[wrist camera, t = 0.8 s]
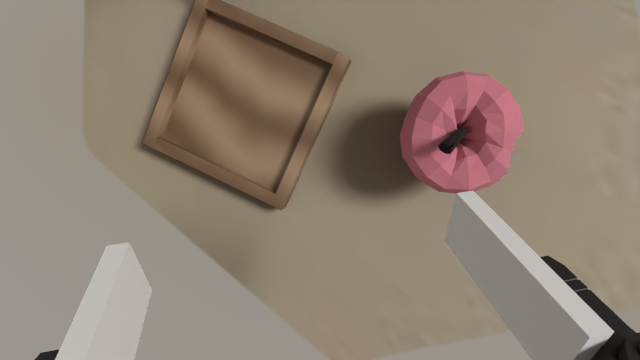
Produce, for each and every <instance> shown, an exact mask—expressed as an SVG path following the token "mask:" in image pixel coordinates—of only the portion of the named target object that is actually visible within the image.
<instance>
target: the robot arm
mask: <svg viewBox="0 0 640 360" xmlns="http://www.w3.org/2000/svg"><path fill="white" fill-rule="evenodd" d="M445 241H446V242H447V244H448V245H449V246H450V248H451V249H452V250H453V252H454V253H455V255H456V256H457V257H458V259H459V260H460V261H461V263H462V264H463V266H464V267H465V268H466V270H467V271H468V272H469V274H470V275H471V277H472V278H473V279H474V281H475V282H476V283H477V285H478V286H479V288H480V289H481V290H482V292H483V293H484V294H485V296H486V297H487V299H488V300H489V301H490V303H491V304H492V305H493V307H494V308H495V310H496V311H497V312H498V314H499V315H500V316H501V318H502V319H503V321H504V322H505V323H506V325H507V326H508V327H509V329H510V330H511V332H512V333H513V334H514V336H515V337H516V338H517V340H518V341H519V343H520V344H521V345H522V346H523V348H524V349H525V350H526V352H527V353H528V355H529V356H530V358H531V359H532V360H640V333H636V332H635V331H633V330H632V329H631V328H630V327H629V326H628V325H626V324H625V323H624V322H623V321H622V320H621V319H620V318H619V317H618V316H617V315H616V314H615V313H614V312H613V311H612V310H611V309H610V308H609V307H608V306H606V305H605V304H604V303H603V302H602V301H601V300H600V299H599V298H598V297H597V296H596V295H595V294H594V293H593V292H592V291H591V290H588V289H587V287H586V286H585V285H584V284H583V283H582V282H581V281H580V280H577V277H576V276H575V275H574V274H573V273H572V272H571V271H570V270H569V269H567V268H566V267H565V266H564V265H563V264H561V263H559V262H558V261H556V260H554V259H553V258H551V257H549V256H544V257H539V256H538V255H537V254H536V253H535V252H534V251H533V250H532V249H531V248H530V247H529V246H528V245H527V244H526V243H525V242H524V241H523V240H522V239H521V238H520V237H519V236H518V235H517V234H516V233H515V232H514V231H513V230H512V229H511V228H510V227H509V226H508V225H507V224H506V223H505V222H504V221H503V220H502V219H501V218H500V217H499V216H498V215H497V214H496V213H495V212H494V211H493V210H492V209H491V208H490V207H489V206H488V205H487V204H486V203H485V202H484V201H483V200H482V199H481V198H480V197H479V196H478V195H477V194H476V193H475V192H474V191H467V192H461V193H457V194H456V198H455V202H454V206H453V210H452V214H451V218H450V222H449V226H448V230H447V234H446V238H445ZM151 293H152V289H151V287H150V285H149V283H148V281H147V279H146V277H145V275H144V273H143V271H142V268H141V266H140V264H139V262H138V260H137V258H136V256H135V254H134V252H133V250H132V247H131V245H130V243H129V242H128V243H122V244H116V245H108V246H106V248H105V251H104V253H103V255H102V257H101V259H100V262H99V264H98V266H97V268H96V270H95V273H94V275H93V277H92V279H91V281H90V284H89V286H88V288H87V290H86V293H85V295H84V297H83V299H82V301H81V303H80V306H79V308H78V310H77V312H76V315H75V317H74V319H73V321H72V323H71V325H70V328H69V330H68V332H67V334H66V336H65V339H64V341H63V343H62V345H61V347H60V349H59V350H54V351H49V352H43V353H40V354H39V356H38V357H37V358H36V359H35V360H134V359H135V355H136V351H137V347H138V343H139V340H140V336H141V331H142V328H143V324H144V320H145V316H146V312H147V309H148V304H149V301H150V297H151Z"/></svg>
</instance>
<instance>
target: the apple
mask: <svg viewBox="0 0 640 360" xmlns="http://www.w3.org/2000/svg"><path fill="white" fill-rule="evenodd" d="M523 133H524V126H523V119H522V113H521V108H520V107H519V105H518V104H517V102H516V100H515V99H514V97H513V95H512V94H511V92H510V91H509V89H508V88H507V87H505V86H504V85H502V84H501V83H499V82H498V81H496V80H495V79H493V78H491V77H490V76H488V75H485V74H477V73H468V72H458V73H454V74H450V75H446V76H442V77H438V78H435V79H434V80H433V81H432V82H431V83H430V84H428V85H427V86H426V87H425V88H424V89H423V90H422V91H420V92H419V93H418V94H417V95H416V96H415V98H414V100H413V102H412V104H411V106H410V108H409V110H408V112H407V114H406V116H405V119H404V122H403V126H402V129H401V133H400V144H401V151H402V157H403V158H404V160H405V161H406V163H407V164H408V166H409V168H410V169H411V171H412V172H413V174H414V175H415V177H416V178H418V179H419V180H421V181H422V182H424V183H426V184H427V185H429V186H430V187H432V188H434V189H435V190H437V191H439V192H448V193H461V192H467V191H477V190H480V189H483V188H486V187H489V186H491V185H493V184H494V183H496V182H498V181H499V180H500V179H501V178H502V177H503V176H504V175H506V172H507V169H508V166H509V165H510V163H511V160H510V154H511V153H512V151H513V150H514V149H515V142H516V139H517V138H518V137H519V136H520V135H521V134H523Z"/></svg>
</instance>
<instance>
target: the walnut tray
mask: <svg viewBox="0 0 640 360" xmlns="http://www.w3.org/2000/svg"><path fill="white" fill-rule="evenodd" d="M350 63H351V61H350V57H349V56H347V55H344V54H342V53H340V52H337V51H335V50H333V49H331V48H328V47H326V46H324V45H321V44H319V43H317V42H315V41H312V40H310V39H308V38H305V37H303V36H301V35H299V34H296V33H294V32H292V31H289V30H287V29H285V28H283V27H280V26H278V25H276V24H274V23H271V22H269V21H267V20H264V19H262V18H260V17H258V16H255V15H253V14H251V13H248V12H246V11H244V10H242V9H239V8H237V7H235V6H232V5H230V4H228V3H226V2H223V1H221V0H195V3H194V5H193V8H192V11H191V14H190V16H189V19H188V22H187V24H186V27H185V30H184V32H183V35H182V38H181V40H180V43H179V46H178V49H177V51H176V54H175V57H174V59H173V62H172V65H171V67H170V70H169V73H168V75H167V78H166V81H165V83H164V86H163V89H162V92H161V94H160V97H159V100H158V102H157V105H156V108H155V110H154V113H153V116H152V118H151V121H150V124H149V126H148V129H147V132H146V135H145V137H144V140H143V144H145V145H147V146H150V147H152V148H154V149H156V150H158V151H160V152H162V153H164V154H166V155H168V156H170V157H172V158H174V159H176V160H178V161H181V162H183V163H185V164H187V165H189V166H191V167H193V168H195V169H197V170H199V171H201V172H203V173H205V174H207V175H209V176H212V177H214V178H216V179H218V180H220V181H222V182H224V183H226V184H228V185H230V186H232V187H234V188H236V189H238V190H240V191H243V192H245V193H247V194H249V195H251V196H253V197H255V198H257V199H259V200H261V201H263V202H265V203H267V204H269V205H271V206H274V207H276V208H278V209H280V210H282V209H284V208H285V207H286V206H287V203H288V201H289V199H290V197H291V194H292V192H293V190H294V188H295V186H296V183H297V181H298V179H299V177H300V174H301V172H302V170H303V168H304V165H305V163H306V161H307V159H308V157H309V154H310V152H311V150H312V148H313V145H314V143H315V141H316V139H317V137H318V134H319V132H320V130H321V128H322V125H323V123H324V121H325V119H326V117H327V114H328V112H329V110H330V108H331V105H332V103H333V101H334V99H335V96H336V94H337V92H338V90H339V88H340V85H341V83H342V81H343V79H344V76H345V74H346V72H347V70H348V68H349V65H350Z"/></svg>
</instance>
